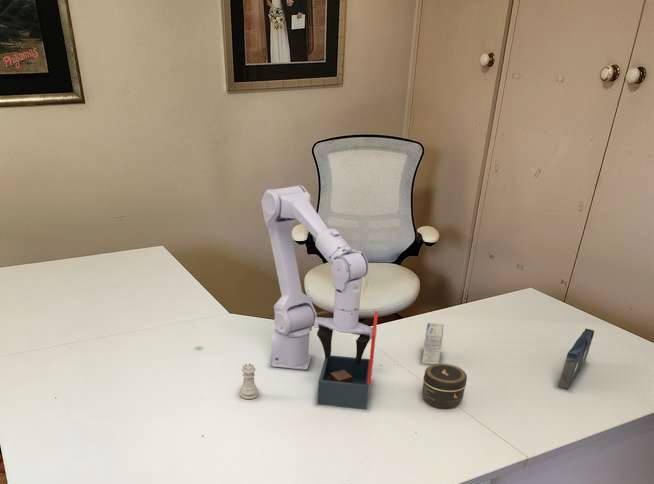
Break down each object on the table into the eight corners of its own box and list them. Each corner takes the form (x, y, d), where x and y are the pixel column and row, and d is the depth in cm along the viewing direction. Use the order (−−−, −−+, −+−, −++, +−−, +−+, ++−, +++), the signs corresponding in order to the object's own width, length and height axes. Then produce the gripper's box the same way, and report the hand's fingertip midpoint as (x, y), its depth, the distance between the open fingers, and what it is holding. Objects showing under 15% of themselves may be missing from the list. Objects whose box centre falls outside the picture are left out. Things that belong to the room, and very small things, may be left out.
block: (337, 394, 149) (338, 380, 147) (329, 387, 152) (329, 373, 150) (351, 391, 151) (352, 376, 149) (342, 383, 154) (343, 369, 152)
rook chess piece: (261, 392, 150) (261, 363, 146) (253, 401, 147) (253, 372, 142) (244, 389, 152) (243, 360, 147) (236, 398, 148) (235, 368, 144)
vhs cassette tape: (575, 360, 171) (585, 327, 166) (586, 364, 170) (597, 330, 164) (555, 386, 158) (565, 351, 153) (567, 390, 157) (578, 355, 152)
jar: (437, 415, 145) (442, 386, 141) (412, 394, 152) (416, 367, 148) (470, 405, 149) (476, 378, 145) (444, 386, 156) (449, 359, 152)
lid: (371, 335, 136) (375, 335, 136) (375, 311, 147) (377, 311, 147) (367, 384, 142) (370, 385, 142) (370, 357, 154) (373, 357, 154)
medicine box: (438, 365, 166) (443, 336, 161) (421, 363, 166) (425, 334, 162) (439, 352, 172) (443, 323, 168) (423, 350, 173) (427, 322, 168)
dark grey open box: (317, 404, 147) (318, 381, 144) (324, 376, 158) (325, 354, 155) (366, 409, 146) (368, 386, 142) (369, 381, 157) (371, 359, 154)
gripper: (382, 305, 141) (376, 358, 149) (322, 294, 145) (320, 346, 153) (373, 317, 136) (368, 371, 143) (311, 305, 140) (309, 358, 147)
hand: (342, 359), depth 147 cm, fingers open, 7 cm apart
